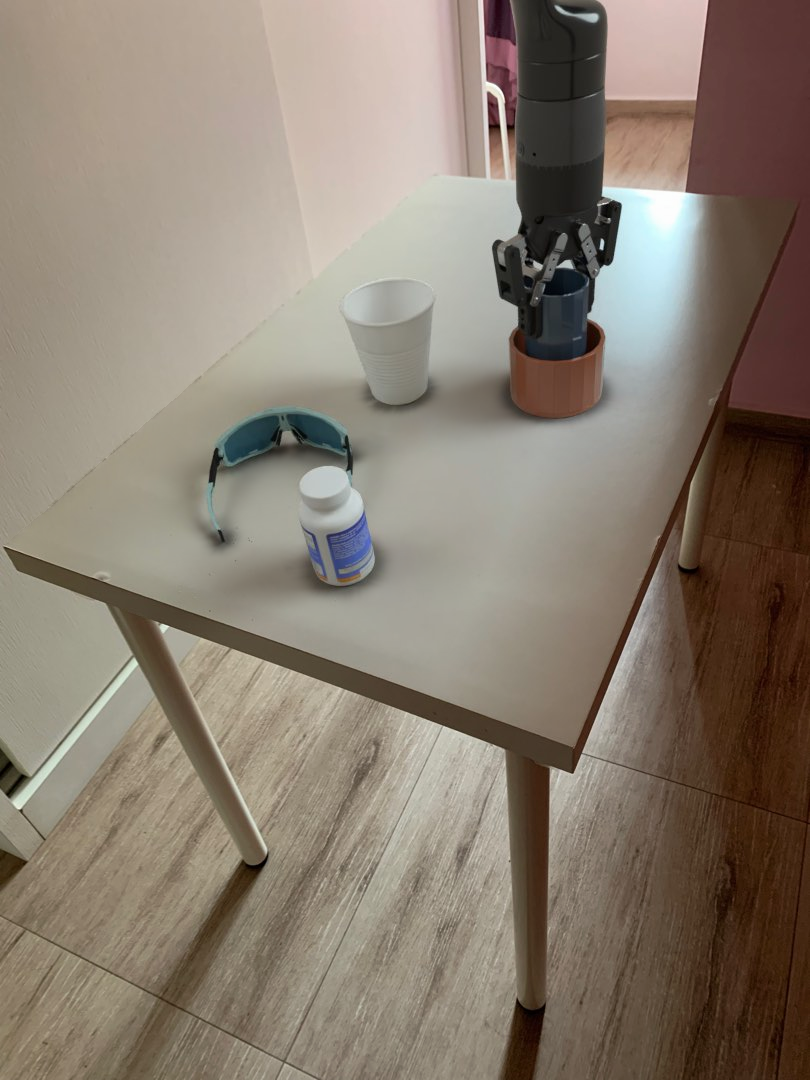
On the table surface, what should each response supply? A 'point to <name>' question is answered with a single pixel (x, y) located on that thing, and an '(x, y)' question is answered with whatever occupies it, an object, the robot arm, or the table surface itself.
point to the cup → (392, 335)
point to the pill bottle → (335, 527)
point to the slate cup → (562, 317)
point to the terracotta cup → (557, 377)
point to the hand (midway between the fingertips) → (556, 322)
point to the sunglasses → (276, 440)
